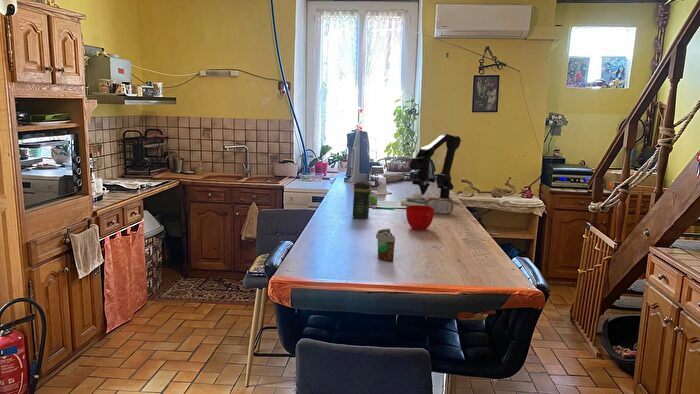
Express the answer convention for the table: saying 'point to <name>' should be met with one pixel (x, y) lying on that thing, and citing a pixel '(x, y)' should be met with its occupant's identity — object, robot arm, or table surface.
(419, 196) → the tile
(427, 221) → the ceramic cup
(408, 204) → the box
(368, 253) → the table surface
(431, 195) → the tile
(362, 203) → the coffee jar
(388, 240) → the food container
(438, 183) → the robot arm
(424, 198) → the plate
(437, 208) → the tin
